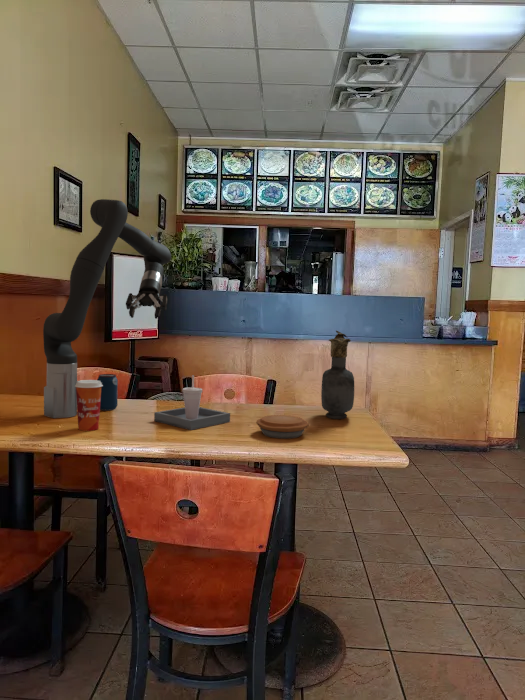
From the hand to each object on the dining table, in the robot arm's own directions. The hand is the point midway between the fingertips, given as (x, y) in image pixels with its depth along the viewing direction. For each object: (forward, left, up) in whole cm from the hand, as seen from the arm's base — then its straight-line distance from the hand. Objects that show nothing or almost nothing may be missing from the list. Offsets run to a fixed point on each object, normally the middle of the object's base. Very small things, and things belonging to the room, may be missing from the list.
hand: (143, 316), depth 184 cm
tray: (-2, -28, -33) cm, 43 cm away
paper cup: (-31, -15, -33) cm, 48 cm away
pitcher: (+41, -55, -33) cm, 76 cm away
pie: (+6, -58, -33) cm, 67 cm away
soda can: (-10, +7, -33) cm, 35 cm away
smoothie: (-2, -28, -32) cm, 42 cm away
